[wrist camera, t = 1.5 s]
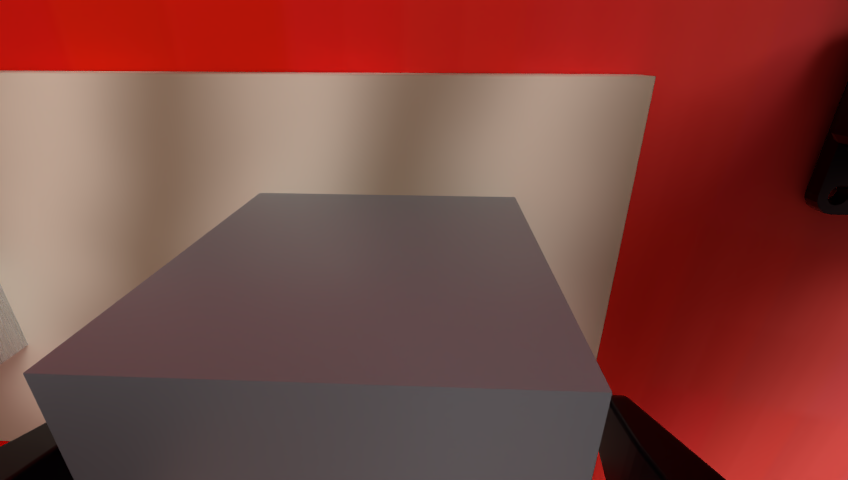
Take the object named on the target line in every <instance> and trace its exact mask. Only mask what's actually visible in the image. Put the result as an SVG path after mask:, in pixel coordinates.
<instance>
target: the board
mask: <svg viewBox="0 0 848 480" xmlns="http://www.w3.org/2000/svg"><path fill="white" fill-rule="evenodd" d="M655 78H656V76H647V75H638V74H490V73H315V72H139V71H0V284H1V286H2V289H3V291H4V293H5V295H6V297H7V300H8V302H9V304H10V306H11V308H12V310H13V313H14V315H15V317H16V319H17V321H18V324H19V326H20V328H21V330H22V332H23V334H24V337H25V339H26V341H27V343H28V345H27V346H26V347H25V348H23V349H22V350H20V351H19V352H17V353H16V354H15V355H13V356H12V357H10V358H9V359H8V360H6V361H5V362H3V363H2V364H0V441H12V440H14V439H16V438H18V437H20V436H22V435H23V434H25V433H27V432H29V431H31V430H33V429H35V428H36V427H38V426H40V425H42V424H44V423H46V421H45V419H44V417H43V415H42V412H41V410H40V408H39V406H38V404H37V402H36V400H35V398H34V396H33V394H32V392H31V390H30V387H29V385H28V383H27V381H26V379H25V377H24V375H23V373H24V372H25V371H26V370H28V369H29V368H30V367H32V366H33V365H34V364H36V363H37V362H38V361H40V360H41V359H42V358H43V357H45V356H46V355H47V354H49V353H50V352H51V351H53V350H54V349H55V348H57V347H58V346H59V345H61V344H62V343H63V342H64V341H66V340H67V339H68V338H70V337H71V336H72V335H74V334H75V333H76V332H78V331H79V330H80V329H82V328H83V327H84V326H86V325H87V324H88V323H89V322H91V321H92V320H93V319H95V318H96V317H97V316H99V315H100V314H101V313H103V312H104V311H105V310H107V309H108V308H109V307H111V306H112V305H113V304H114V303H116V302H117V301H118V300H120V299H121V298H122V297H124V296H125V295H126V294H128V293H129V292H130V291H132V290H133V289H134V288H135V287H137V286H138V285H139V284H141V283H142V282H143V281H145V280H146V279H147V278H149V277H150V276H151V275H153V274H154V273H155V272H157V271H158V270H159V269H160V268H162V267H163V266H164V265H166V264H167V263H168V262H170V261H171V260H172V259H174V258H175V257H176V256H178V255H179V254H180V253H182V252H183V251H184V250H185V249H187V248H188V247H189V246H191V245H192V244H193V243H195V242H196V241H197V240H199V239H200V238H201V237H203V236H204V235H205V234H206V233H208V232H209V231H210V230H212V229H213V228H214V227H216V226H217V225H218V224H220V223H221V222H222V221H224V220H225V219H226V218H228V217H229V216H230V215H231V214H233V213H234V212H235V211H237V210H238V209H239V208H241V207H242V206H243V205H245V204H246V203H247V202H249V201H250V200H251V199H253V198H254V197H255V196H256V195H258V194H259V193H296V194H358V195H419V196H480V197H515V198H516V200H517V202H518V204H519V206H520V208H521V210H522V212H523V214H524V216H525V218H526V220H527V222H528V224H529V226H530V228H531V230H532V232H533V234H534V236H535V238H536V240H537V242H538V244H539V246H540V248H541V250H542V252H543V254H544V256H545V258H546V260H547V262H548V264H549V267H550V269H551V271H552V273H553V275H554V277H555V279H556V281H557V283H558V285H559V287H560V289H561V291H562V293H563V295H564V297H565V299H566V301H567V303H568V305H569V307H570V309H571V311H572V313H573V315H574V317H575V319H576V321H577V323H578V325H579V327H580V329H581V331H582V333H583V335H584V337H585V339H586V341H587V343H588V345H589V347H590V349H591V351H592V353H593V355H594V357H595V359H596V360H597V355H598V350H599V345H600V341H601V336H602V331H603V326H604V322H605V317H606V312H607V307H608V302H609V298H610V293H611V288H612V283H613V279H614V274H615V269H616V264H617V260H618V255H619V250H620V245H621V240H622V236H623V231H624V226H625V221H626V217H627V212H628V207H629V202H630V197H631V193H632V188H633V183H634V178H635V174H636V169H637V164H638V159H639V155H640V150H641V145H642V140H643V135H644V131H645V126H646V121H647V116H648V112H649V107H650V102H651V97H652V93H653V88H654V83H655Z"/></svg>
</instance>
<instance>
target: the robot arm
mask: <svg viewBox="0 0 848 480" xmlns="http://www.w3.org/2000/svg"><path fill="white" fill-rule="evenodd" d="M836 187H837V190H836V192H835V194H834V195H833V196H832V197H830V198H829V199H828V195H829V194H830V192H831V191H832V190H833V189H835V188H836ZM805 200H806V203H807V204H808V205H809V206H810V207H811V208H814V209H816V210H818V211H821V212H823V213H827V214H837V215H848V81H847V84H846V86H845V89H844V92H843V94H842V97H841V99H840V102H839V105H838V107H837V110H836V113H835V115H834V118H833V120H832V123H831V126H830V128H829V131H828V134H827V136H826V139H825V141H824V144H823V147H822V149H821V152H820V154H819V157H818V160H817V162H816V165H815V168H814V170H813V173H812V175H811V178H810V181H809V183H808V186H807V189H806V192H805ZM599 454H600V458H601V462H602V466H603V470H604V474H605V478H606V480H726V479H725V478H723V477H722V476H721V475H720V474H719V473H717V472H716V471H715V470H714V469H713V468H711V467H710V466H709V465H708V464H707V463H705V462H704V461H703V460H702V459H701V458H699V457H698V456H697V455H696V454H695V453H693V452H692V451H691V450H690V449H689V448H687V447H686V446H685V445H684V444H683V443H682V442H680V441H679V440H678V439H677V438H676V437H674V436H673V435H672V434H671V433H670V432H668V431H667V430H666V429H665V428H664V427H662V426H661V425H660V424H659V423H658V422H656V421H655V420H654V419H653V418H652V417H650V416H649V415H648V414H647V413H646V412H644V411H643V410H642V409H641V408H640V407H638V406H637V405H636V404H635V403H634V402H632V401H631V400H630V399H629V398H627V397H626V396H622V395H612V396H611V400H610V405H609V409H608V413H607V417H606V421H605V426H604V430H603V434H602V438H601V442H600V447H599ZM0 480H74V479H73V477H72V475H71V473H70V471H69V469H68V467H67V464H66V462H65V460H64V458H63V456H62V454H61V452H60V450H59V448H58V446H57V444H56V442H55V440H54V437H53V435H52V433H51V431H50V429H49V427H48V425H47V423H44V424H42V425H40V426H38V427H36V428H35V429H33V430H31V431H29V432H27V433H25V434H23V435H22V436H20V437H18V438H16V439H14V440H12V441H10V442H8V443H7V444H5V445H3V446H1V447H0Z"/></svg>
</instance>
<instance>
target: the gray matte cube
mask: <svg viewBox="0 0 848 480" xmlns="http://www.w3.org/2000/svg"><path fill="white" fill-rule="evenodd" d="M23 375H24V377H25V379H26V381H27V383H28V385H29V387H30V390H31V392H32V394H33V396H34V398H35V400H36V402H37V404H38V406H39V408H40V410H41V412H42V415H43V417H44V419H45V421H46V423H47V425H48V427H49V429H50V431H51V433H52V435H53V437H54V440H55V442H56V444H57V446H58V448H59V450H60V452H61V454H62V456H63V458H64V460H65V462H66V464H67V467H68V469H69V471H70V473H71V475H72V477H73V479H74V480H592V476H593V472H594V468H595V464H596V459H597V455H598V451H599V447H600V442H601V438H602V434H603V430H604V426H605V421H606V417H607V413H608V409H609V405H610V400H611V396H612V391H611V389H610V387H609V385H608V383H607V381H606V379H605V377H604V375H603V373H602V371H601V369H600V367H599V365H598V363H597V361H596V359H595V357H594V355H593V353H592V351H591V349H590V347H589V345H588V343H587V341H586V339H585V337H584V335H583V333H582V331H581V329H580V327H579V325H578V323H577V321H576V319H575V317H574V315H573V313H572V311H571V309H570V307H569V305H568V303H567V301H566V299H565V297H564V295H563V293H562V291H561V289H560V287H559V285H558V283H557V281H556V279H555V277H554V275H553V273H552V271H551V269H550V267H549V264H548V262H547V260H546V258H545V256H544V254H543V252H542V250H541V248H540V246H539V244H538V242H537V240H536V238H535V236H534V234H533V232H532V230H531V228H530V226H529V224H528V222H527V220H526V218H525V216H524V214H523V212H522V210H521V208H520V206H519V204H518V202H517V200H516V198H515V197H480V196H419V195H358V194H296V193H259V194H258V195H256V196H255V197H254V198H253V199H251V200H250V201H249V202H247V203H246V204H245V205H243V206H242V207H241V208H239V209H238V210H237V211H235V212H234V213H233V214H231V215H230V216H229V217H228V218H226V219H225V220H224V221H222V222H221V223H220V224H218V225H217V226H216V227H214V228H213V229H212V230H210V231H209V232H208V233H206V234H205V235H204V236H203V237H201V238H200V239H199V240H197V241H196V242H195V243H193V244H192V245H191V246H189V247H188V248H187V249H185V250H184V251H183V252H182V253H180V254H179V255H178V256H176V257H175V258H174V259H172V260H171V261H170V262H168V263H167V264H166V265H164V266H163V267H162V268H160V269H159V270H158V271H157V272H155V273H154V274H153V275H151V276H150V277H149V278H147V279H146V280H145V281H143V282H142V283H141V284H139V285H138V286H137V287H135V288H134V289H133V290H132V291H130V292H129V293H128V294H126V295H125V296H124V297H122V298H121V299H120V300H118V301H117V302H116V303H114V304H113V305H112V306H111V307H109V308H108V309H107V310H105V311H104V312H103V313H101V314H100V315H99V316H97V317H96V318H95V319H93V320H92V321H91V322H89V323H88V324H87V325H86V326H84V327H83V328H82V329H80V330H79V331H78V332H76V333H75V334H74V335H72V336H71V337H70V338H68V339H67V340H66V341H64V342H63V343H62V344H61V345H59V346H58V347H57V348H55V349H54V350H53V351H51V352H50V353H49V354H47V355H46V356H45V357H43V358H42V359H41V360H40V361H38V362H37V363H36V364H34V365H33V366H32V367H30V368H29V369H28V370H26V371H25V372H24V373H23Z"/></svg>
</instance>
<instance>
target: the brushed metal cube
mask: <svg viewBox="0 0 848 480" xmlns="http://www.w3.org/2000/svg"><path fill="white" fill-rule="evenodd" d="M27 345H28V343H27V341H26V339H25V337H24V334H23V332H22V330H21V328H20V326H19V324H18V321H17V319H16V317H15V315H14V313H13V310H12V308H11V306H10V304H9V302H8V300H7V297H6V295H5V293H4V291H3V289H2V286H1V284H0V364H2V363H3V362H5V361H6V360H8V359H9V358H10V357H12V356H13V355H15V354H16V353H17V352H19V351H20V350H22V349H23V348H25V347H26V346H27Z"/></svg>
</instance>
